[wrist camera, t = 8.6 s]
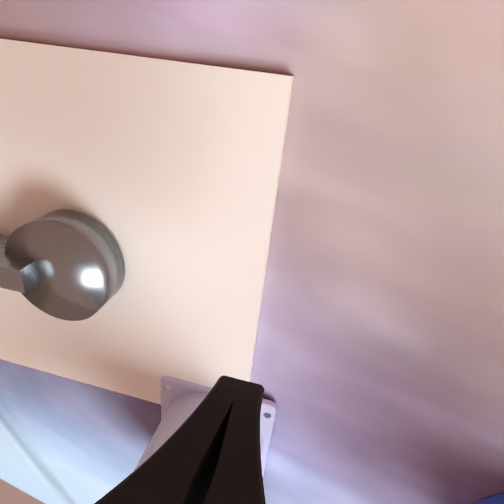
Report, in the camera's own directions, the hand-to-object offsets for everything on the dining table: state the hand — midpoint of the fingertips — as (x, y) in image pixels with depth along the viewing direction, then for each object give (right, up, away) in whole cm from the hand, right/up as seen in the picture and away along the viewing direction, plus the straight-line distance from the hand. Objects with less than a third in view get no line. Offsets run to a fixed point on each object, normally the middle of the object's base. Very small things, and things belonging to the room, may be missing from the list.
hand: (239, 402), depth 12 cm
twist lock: (-13, +5, +11) cm, 18 cm away
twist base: (-10, +5, +11) cm, 15 cm away
